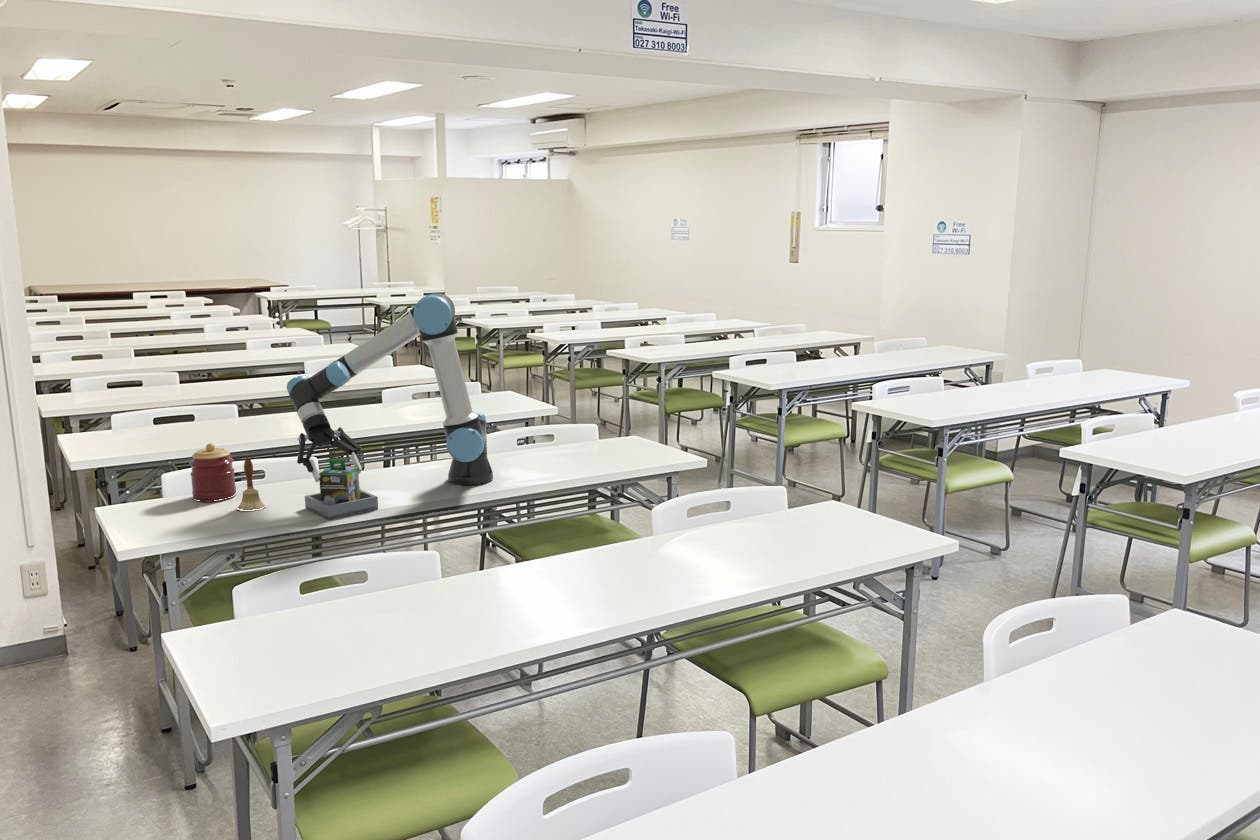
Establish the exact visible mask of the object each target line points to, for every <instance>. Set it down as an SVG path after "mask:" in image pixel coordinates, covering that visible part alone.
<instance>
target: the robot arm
mask: <svg viewBox="0 0 1260 840" xmlns="http://www.w3.org/2000/svg"><path fill="white" fill-rule="evenodd" d="M455 315H456V308H455V304H454V302H453V300H452V299H451V298H450V297H449V296H447V294H444V293H441V292H432V293H428V294H427V295H425V296H422V298H420V299H419V300H418V301H417V302H416V304H415V306H413V307H412V308H410V309H409V310H408V314H407V315H405V316H404V317H402V318H401V319H399V320H398V321H396V322H394V323H393V324H391V325H390V326H388V327H386V328H385V329H383V330H381V331H380V332H378V333H377V334H375V335H374V336H372V337H371V338H368V340H365V342H363V343H361V344H360V345H358V346H356V347H355V348H353V349H351V350H350V351H349V352H347V353H345V354H344V355H342V356H341V357H339V358H337V359H336V360H334V361H332V362H330V363H329V364H328V365H326V367H324V368H322V369H321V370H320V371H318V372H315V373H314V374H313V375H312V376H310V377H308V376H307V375H297V377H292V378H291V379H290V380H289V381H288V382H287V384H286V390H287V393H288V396H289V399H290V401H291V403H292V404H293V406H294V408H295V411H296V413H297V415H298V418H299V420H300V422H301V424H302V427H303V429H304V431H305V433H306V434H305V433H303V432H301V433H300V434H299V437H298V438H297V440H298V443H299V444H298V445H299V446H298V447H299V448H298V452H297V460H296V463H297V464H298V465H301V464H302V465H303V466H304V467H306V470H307V472H308V473H311V475H312V477H313V478H314V482H315V483H319V479H320V474H319V473H320V472H319V471H318V468H317V466H316V463H315V461H314V459H311V457H312V455H313V453H314V451H315V449H316V447H317V446H318V447H323V446H326V447H327V446H332V447H336V448H337V449H340V450H341V451H343V452H344V453H346V454H348V455H350V456H349V459H350V461H351V463H352V466H358V475H360V474H362V473H361V472H362V470H363V468H362V465H361V463H360V462H361V458H360V455H359V453H360V452H361V450H362V446H361V445H359V444H358V443H357V442H356V441H355V440H354V439H353V438H351V437H350V435H348V434H347V433H346V432H345V430H343V428H342V427H341V426H340V427H338V429H335V430H333V429H332V428H331V424H330V422H329V420H328V417H327V416H326V413H325V411H324V409H323V407H322V404H321V402H320V400H321V399H323V398H325V397H326V396H327V395H329V394H331V393H333V392H334V391H336V390H338V389H339V388H342V387H343V386H344V385H346V383H349V382H350V380H351V379H352V378H354V377H356V376H357V375H358V374H361V373H362V372H363V371H365V370H366V369H368V368H369V367H371V366H372V365H374V364H376V363H378V362H379V361H381V360H383V359H385V358H386V357H388V356H389V355H390V354H392V353H393V352H394V353H395V351H396V350H399V349H400V348H401V347H403V346H405V345H406V344H408V343H410V342H411V341H413V340H415V339H416V338H418V337H419V336H420V338H421V342H422V343H424V344H425V345H426V346H427V347H428V351H429V355H430V358H431V363H432V366H433V371H434V375H435V378H436V382H437V387H438V390H439V395H440V398H441V401H442V402H441V403H442V406H443V410H444V414H445V419H444V421H443V423H442V425H443V430H444V433H445V438H446V443H445V444H446V445H445V446H446V450H447V452H448V454H449V455H450V457H451V458H452V459H451V461H450V462H451V464H450V466H449V471H448V474H447V480H448V483H450V482H451V484H452V483H454V485H457V484H460V485H459V486H473V485H472V484H477V485H482V484H481V483H483V484H487V483H489V481H490V482H491V480H492V479H494V474H493V473H494V472H493V469H492V466H491V464H490V462H489V459H488V447H487V446H488V445H487V438H488V437H487V422H488V421H487V418H486V415H485V414H484V413H481V412H480V413H478V412H474V411H473V408H472V404H471V400H470V399H471V398H470V396H469V391H468V388H467V384H466V380H465V377H464V376H465V375H464V372H463V368H462V363H461V359H460V356H459V352H458V348H457V344H456V337H457V336H458V334H459V331H458V327H457V322H456V319H455ZM307 440H308V441H309V442H311V443H312V444H311V446H310V448H309V450H308V453H307V454H306V456H305V457H304V454H305V448H306V442H307ZM492 481H493V480H492ZM486 482H487V483H486Z"/></svg>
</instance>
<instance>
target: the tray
mask: <svg viewBox="0 0 1260 840" xmlns="http://www.w3.org/2000/svg"><path fill="white" fill-rule="evenodd" d="M360 498H361V499H359V500H354V501H349V502H344V503H339V504H334V505H328V504H325V503H323V502H321V494H320V492H319V493H318V492H317V493H312V494H308V495H304V502H305V505H304V506H305V509H306V510H308V511H310V512H312V513H314V514H316V515H318V516H320V517H322V518H324V519H325V520H328V521H329V520H335V519H338V518H339V519H340V518H344V517H347V516H349V517H350V516H354V515H359V514H362V513H367V512H371V511H377V510H379V502H378V500H379V498H378V496H377V495H375V494H373V493H370V492H367V491H366V490H362V489H361V488H360Z"/></svg>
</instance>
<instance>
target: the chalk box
mask: <svg viewBox="0 0 1260 840" xmlns="http://www.w3.org/2000/svg"><path fill="white" fill-rule="evenodd" d="M335 464H340V465H337V466H336V465H335ZM319 474H320V479H319V481H318V483H319V490H320V492H319V493H320V494H321V502H323V503H325V504H328V505H334V504H339V503H344V502H349V501H354V500H359V499H361V498H360V489H361V487H360V479H359V478H360V477H359V474H358V466H353V465H346V462H345V460H344V459H329V467H327V468H325V469H323V470H322V471H321V472H319Z"/></svg>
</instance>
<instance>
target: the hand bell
mask: <svg viewBox="0 0 1260 840" xmlns="http://www.w3.org/2000/svg"><path fill="white" fill-rule="evenodd" d="M243 471H244V474H245V476H246V489H245V490H243V491H242V497H241V502H240V504H239V505H238V506H237V508H239V509H243V510H253V509H260V508H262V507H264V506H265V505H266V504H265V503H264V502H263V501H262V500H261V497H260V494H259V490H258V489H256V488H255V487H254V484H253V473H254V464H253V463H252V460H251V457H245V460H244V464H243Z"/></svg>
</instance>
